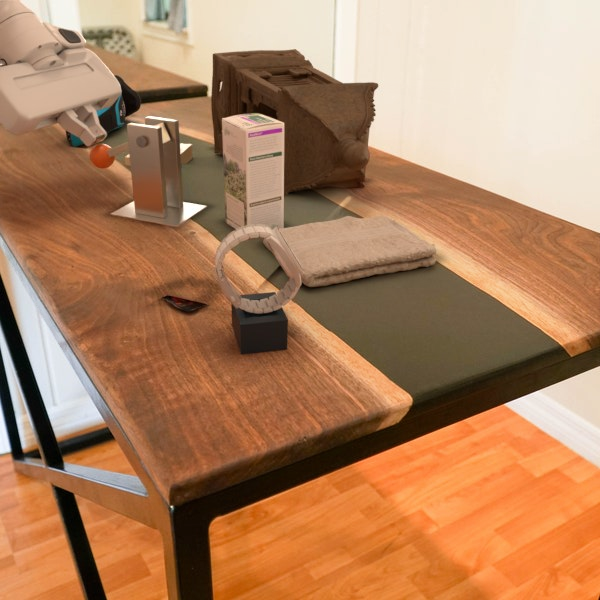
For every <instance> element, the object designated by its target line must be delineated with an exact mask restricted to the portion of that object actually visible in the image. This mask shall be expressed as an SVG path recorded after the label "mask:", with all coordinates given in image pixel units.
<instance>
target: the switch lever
mask: <svg viewBox="0 0 600 600" xmlns="http://www.w3.org/2000/svg"><path fill="white" fill-rule="evenodd" d="M154 126H158V127H162V140H163V144H164V143H166V142H168V141H170V137H169V135H168V133H167V130H166V128H165V126H164V123H163V122H162V123H160V124H157V125H154ZM127 152H129V144H128V141H126V142H124V143H122V144H119V145H117V146H114V147H111V146H110V145H108V144H106V143H96V144H94V145H93V146H92V148H91V149H90V150H89V159H90V161H91V163H92V165H93V166H95V167H96V168H99V169H107V168H109V167H111V166H113V164H114V162H115V159H116V156H119V155H121V154H123V153H127Z"/></svg>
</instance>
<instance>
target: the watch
mask: <svg viewBox="0 0 600 600" xmlns="http://www.w3.org/2000/svg"><path fill="white" fill-rule="evenodd" d="M257 238H263V239H264V238H266V241H267V243H268V245H269V247H270V249H271V250H272V252H273V253H272V252H271V253H272V254H273V256H274V257H275V259H276V260H277V262H278V264H279V265H280V267H281V269H282V270H283V271H284V273H285V274H286V276H287V277H288V280H287V282H286V283H285V285H284V286H283V287H282V288H281V289H280V290H278V291H277V292H276V291H271V292H270V291H269V292H260V293H259V292H258V293H248V294H241V293H240V292H238V290H237V289H236V288H235V287H234V286H233V285H232V283H231V282H230V280H229V279H228V276H227V275H226V272H225V268H224V265H223V262H224V261H225V259H226V255H228V254H229V252H230V251H231V250H232V248H235V247H236V246H237V245H239V244H240V243H241V242H242V243H243V242H244V241H247V240H249V239H257ZM213 268H214V272H215V275H216V276H215V277H216V279H217V282H218V284H219V286H220V288H221V291H222V292H223V294H224V295H225V297H226V299H227V300H228V301H229V303H230V304H231V326H232V329H233V332H234V336H235V340H236V342H237V346H238V349H239V352H240V355H248V354H257V353H266V352H267V353H268V352H274V351H275V352H276V351H283V350H288V334H289V333H288V332H289V331H288V330H289V328H288V327H289V319H288V317H287V315H286V313H285V309H284V308H283V307H285V306H286V305H288V304H289V303H290V302H291V300H293V299H294V298H295V296H296V295H297V293H298V292H299V290H300V287H301V286H302V282H301V276H300V275H301V274H302V275H303V274H304V270H303V268H302V266H301V264H300V262H299V261H298V259H297V257H296V255H295V254H294V252H293V250H292V249H291V247H290V246H289V244H288V242H287V241H286V239H285V237H284V236H283V234H282V233H281V231H280V230H279V229H278V228H277V227H275V228H274V230H273V229H271V228H270V227H268V226H267V225H265V224H255V225H254V224H250V225H246V226H242V227H240V228H237V229H234V230H232V231H230V232H229V233H228V234H227V235H226V236H225V237H224V238H223V239H222V241H221V242H220V243H219V245H218V247H217V249H216V251H215V255H214V267H213Z"/></svg>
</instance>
